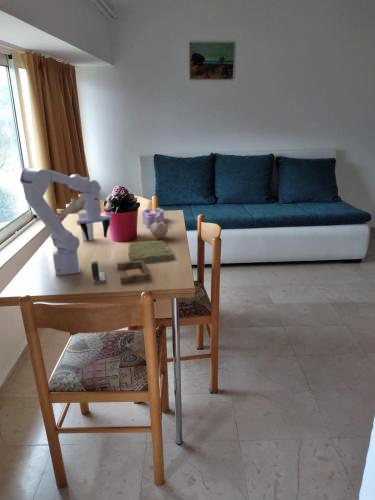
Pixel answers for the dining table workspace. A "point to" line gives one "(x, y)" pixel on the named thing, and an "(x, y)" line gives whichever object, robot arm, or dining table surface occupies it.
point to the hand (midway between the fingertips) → (96, 238)
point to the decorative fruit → (159, 229)
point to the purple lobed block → (152, 216)
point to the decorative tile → (149, 251)
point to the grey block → (97, 274)
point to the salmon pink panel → (133, 272)
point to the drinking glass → (82, 215)
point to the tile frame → (136, 277)
